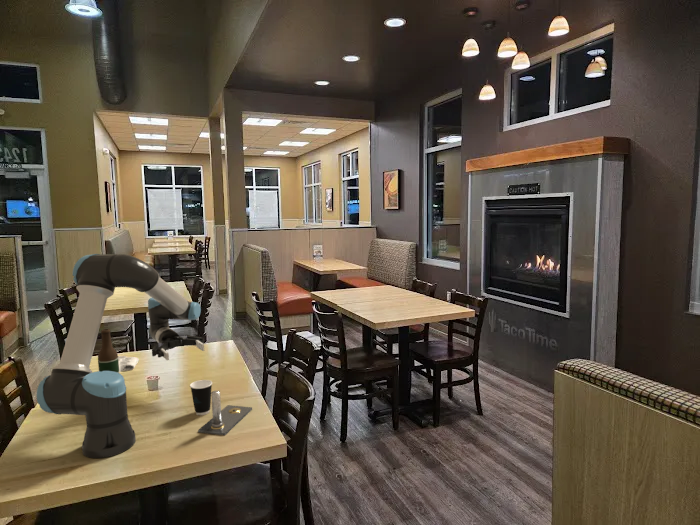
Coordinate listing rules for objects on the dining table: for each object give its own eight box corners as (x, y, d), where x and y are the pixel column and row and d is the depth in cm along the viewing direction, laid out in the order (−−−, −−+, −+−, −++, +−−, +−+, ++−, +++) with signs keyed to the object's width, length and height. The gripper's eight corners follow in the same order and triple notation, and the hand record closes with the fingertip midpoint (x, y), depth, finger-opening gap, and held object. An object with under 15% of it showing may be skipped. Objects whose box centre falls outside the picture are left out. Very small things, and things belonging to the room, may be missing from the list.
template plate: (224, 435, 152) (224, 432, 152) (198, 432, 155) (198, 429, 155) (252, 409, 171) (252, 407, 171) (228, 407, 174) (227, 404, 174)
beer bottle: (119, 385, 198) (114, 330, 195) (98, 387, 195) (93, 332, 192) (120, 378, 205) (116, 326, 202) (101, 381, 202) (96, 328, 199)
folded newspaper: (132, 373, 213) (98, 376, 210) (140, 360, 231) (108, 363, 227) (132, 366, 213) (97, 369, 209) (139, 354, 230) (108, 357, 227)
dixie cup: (215, 406, 174) (213, 378, 173) (212, 415, 167) (211, 386, 165) (193, 408, 173) (191, 380, 172) (189, 418, 165) (188, 388, 164)
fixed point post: (219, 428, 155) (217, 394, 154) (210, 427, 156) (208, 393, 154) (225, 423, 158) (223, 390, 157) (215, 422, 159) (213, 389, 158)
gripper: (197, 339, 200) (217, 352, 184) (136, 354, 185) (152, 370, 168) (196, 323, 199) (216, 335, 182) (134, 336, 183) (150, 351, 167)
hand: (185, 352), depth 175 cm, fingers open, 13 cm apart
